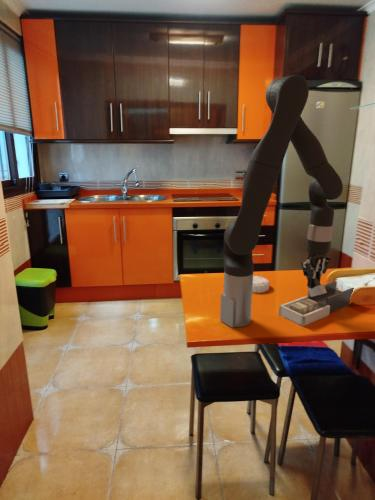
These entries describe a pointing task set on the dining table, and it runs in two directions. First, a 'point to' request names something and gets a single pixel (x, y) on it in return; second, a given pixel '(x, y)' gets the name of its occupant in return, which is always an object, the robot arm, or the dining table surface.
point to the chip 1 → (299, 308)
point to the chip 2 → (310, 305)
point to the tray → (299, 318)
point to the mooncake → (260, 284)
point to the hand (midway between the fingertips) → (313, 286)
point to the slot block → (332, 297)
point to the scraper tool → (316, 287)
